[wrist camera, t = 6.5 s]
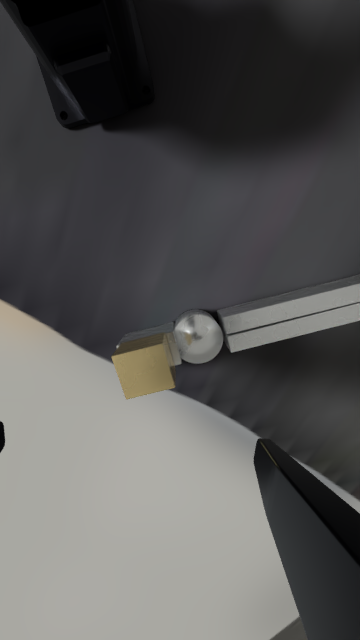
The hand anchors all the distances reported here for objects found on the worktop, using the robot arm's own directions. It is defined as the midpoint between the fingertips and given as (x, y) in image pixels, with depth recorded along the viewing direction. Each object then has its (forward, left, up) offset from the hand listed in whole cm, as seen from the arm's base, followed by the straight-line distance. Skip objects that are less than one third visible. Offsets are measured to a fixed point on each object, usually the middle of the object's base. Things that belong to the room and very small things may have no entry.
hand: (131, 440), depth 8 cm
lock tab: (0, 0, -8) cm, 8 cm away
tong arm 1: (-1, +13, -11) cm, 17 cm away
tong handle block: (0, +1, -11) cm, 11 cm away
